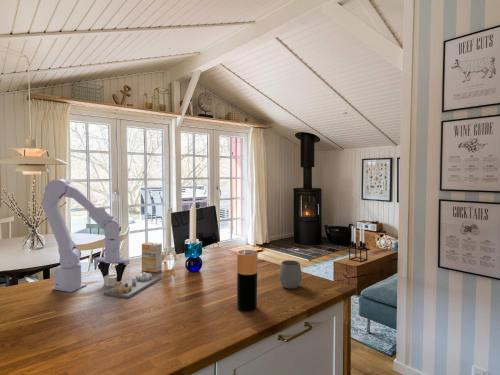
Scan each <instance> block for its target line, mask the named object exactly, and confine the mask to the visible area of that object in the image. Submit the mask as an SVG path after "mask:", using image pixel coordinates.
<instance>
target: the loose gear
mask: <svg viewBox="0 0 500 375" xmlns="http://www.w3.org/2000/svg"><path fill="white" fill-rule="evenodd" d="M121 283H122V280H121V281H119V282H117V273H116V272H115V273H114V272H111V273H109V274H108V275H106V276H104V278H103V285H104V286H105V287H115V286H117V285H118V284H121Z"/></svg>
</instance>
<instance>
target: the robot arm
mask: <svg viewBox="0 0 500 375" xmlns="http://www.w3.org/2000/svg"><path fill="white" fill-rule="evenodd" d="M43 193H44V194H43V198H42V201H41V207H42V208H43V210H44V213H45V216H46V218H47V220H48V223H49V225H50V228H51V231H52V233H53V236H54V238H55V241H56V242H57V246H58V254H59V264H60V265H58V266H57V267H56V268H55V270H54V275H53V279H54V280H53V281H54V286H53V287H52V290H56V291H63V292H68V293H72V292H74V291H77V290H79V289H81V288H83V287H86V286H87V283H82V263H81V262H80V258H82V252H81V249H80V248H78V247H77V246H76V243H75V242H74V241H73V240H72V237H71V234H70V231H69V229H68V227H67V225H66V222H65V219H64V216H63V215H62V214H63V213H62V212H61V209H60V206H59V202H60V201H61V199H63V198H62V197H64V198H69V199H73V200H74V201H76V202H77V204H79V205H80V206H82V207H83V208H84V209H85V210H87V211H88V216H89V218H90V219H91V220H92V221H94V222H95V223H96V224H97V225H98V226H99V227H102V228H103V232H104V256H97V257H96V258H95V260H94V261H95V264H97V268H99V269H98V270H99V271H100V272H101V275H102V278H103V279H104V276H106V275H108V274H110V273H109V271H110V264H113V265H114V264H116V265H115V266H114V269H115V273H117V282H119V281H121V282H122V280H123V279H122V278H123V275H124V272H125V270H126V268H127V266H128V265H129V264H130V259H129V258H125V257H121V250H120V249H121V248H120V241H121V240H120V231H119V230H120V227H121V226H120V225H121V224H120V221H118V219H117V218H115V216H114V215H111V214H110V213H108V212H107V211H106V208H105V207H104V206H103V207H102V206H100V205H95V204H94V202H92V201H91V200H90V199H89V198H88V197H87V196H86V195H85V194H84V193H83V192H82V191H81V190H79V188H78V187H76V185H74V184H73V183H70V181H68V179H65V178H57V179H56V178H55V179H52V180H50V181H49V182H48V183H47V184H46V186H45V187H44V192H43ZM98 263H99V264H98Z"/></svg>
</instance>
